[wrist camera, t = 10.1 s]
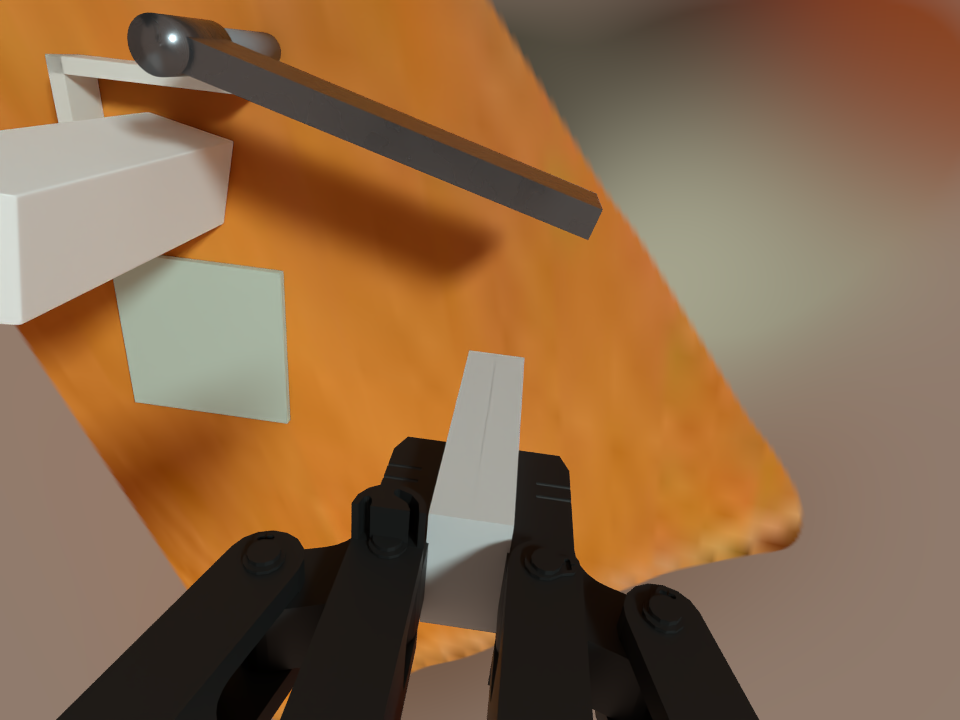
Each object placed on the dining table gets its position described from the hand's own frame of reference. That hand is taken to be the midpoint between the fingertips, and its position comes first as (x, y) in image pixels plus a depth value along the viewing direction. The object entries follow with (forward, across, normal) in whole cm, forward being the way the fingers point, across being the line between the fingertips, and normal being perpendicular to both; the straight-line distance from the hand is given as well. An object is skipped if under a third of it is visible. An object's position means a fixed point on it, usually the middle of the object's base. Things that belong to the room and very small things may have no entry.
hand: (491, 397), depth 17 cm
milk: (+27, -23, -1) cm, 36 cm away
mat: (+27, -23, -14) cm, 38 cm away
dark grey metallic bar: (+20, -7, +4) cm, 22 cm away
